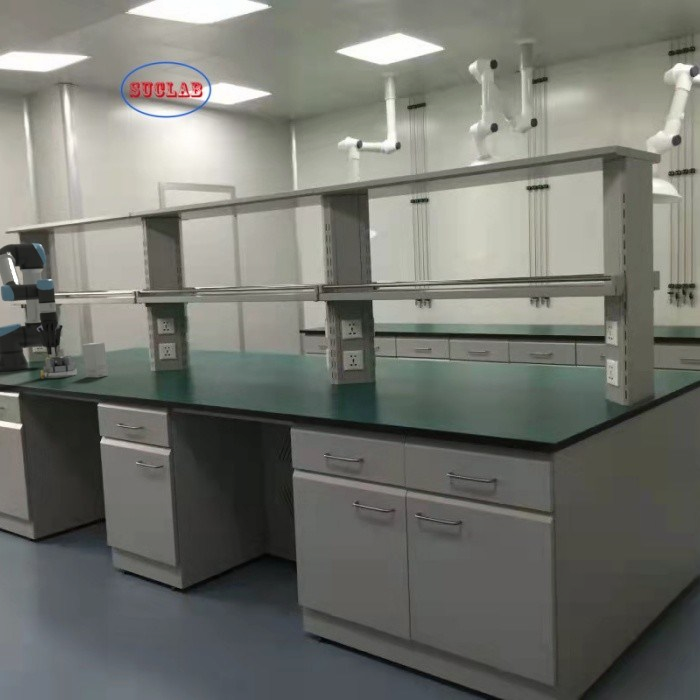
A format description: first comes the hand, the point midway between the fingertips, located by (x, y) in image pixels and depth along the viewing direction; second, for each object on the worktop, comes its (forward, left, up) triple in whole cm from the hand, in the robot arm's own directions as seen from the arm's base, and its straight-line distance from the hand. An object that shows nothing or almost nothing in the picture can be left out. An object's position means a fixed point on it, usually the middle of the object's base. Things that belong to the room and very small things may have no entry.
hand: (52, 360), depth 364 cm
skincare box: (+22, +18, -7) cm, 29 cm away
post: (+10, -5, -7) cm, 13 cm away
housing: (+5, +3, -7) cm, 9 cm away
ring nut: (+5, +3, -4) cm, 7 cm away
